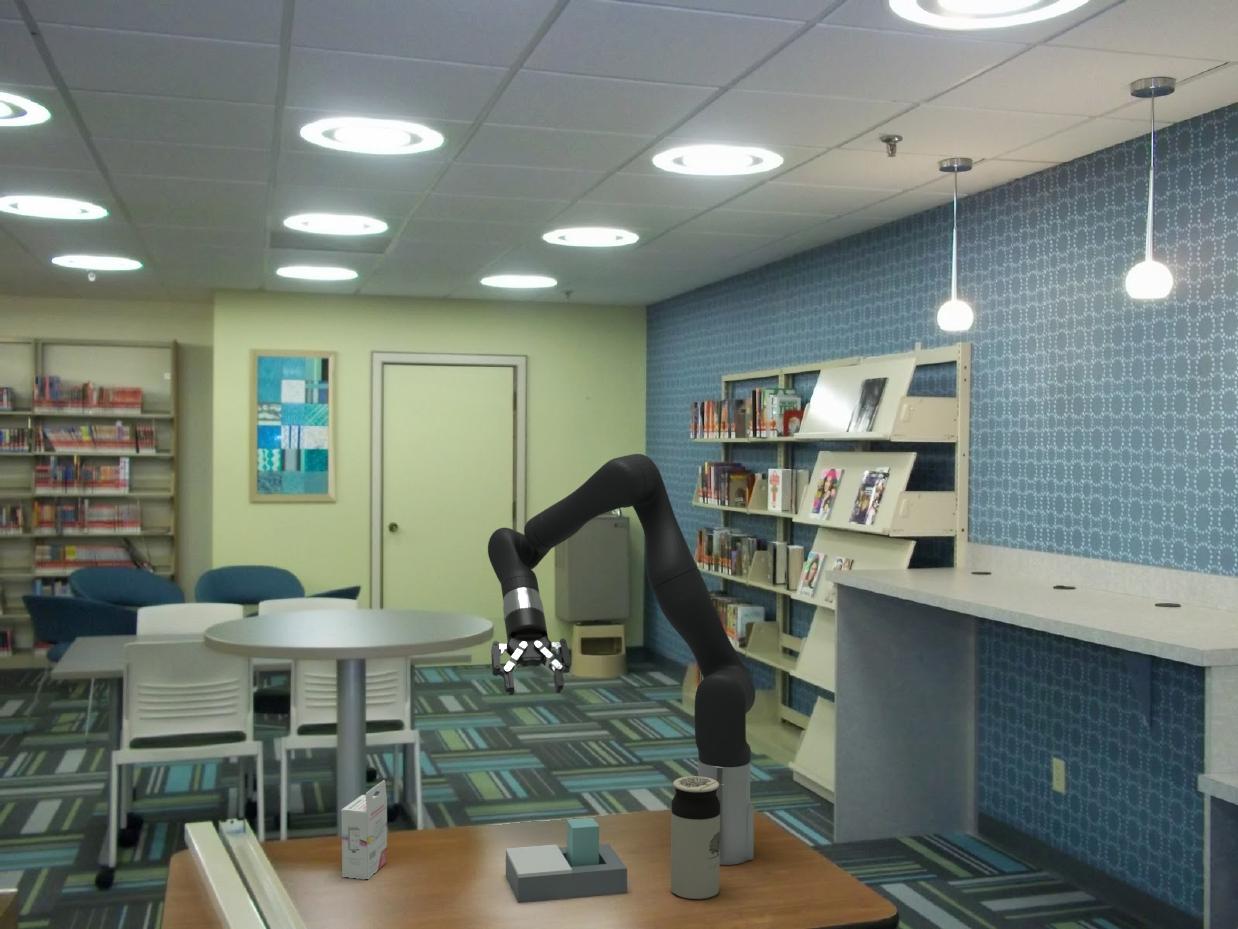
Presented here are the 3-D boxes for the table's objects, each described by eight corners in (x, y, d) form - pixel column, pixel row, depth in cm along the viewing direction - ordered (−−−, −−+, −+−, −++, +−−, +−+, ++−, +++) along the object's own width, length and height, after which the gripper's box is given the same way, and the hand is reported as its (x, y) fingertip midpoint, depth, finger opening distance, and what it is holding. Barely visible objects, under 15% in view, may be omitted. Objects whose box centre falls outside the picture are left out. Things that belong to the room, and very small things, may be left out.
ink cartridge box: (361, 860, 210) (361, 776, 210) (387, 862, 209) (388, 778, 209) (340, 878, 202) (340, 791, 201) (367, 881, 201) (368, 793, 200)
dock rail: (608, 866, 208) (608, 840, 208) (627, 892, 197) (627, 864, 197) (505, 875, 204) (505, 848, 204) (518, 902, 192) (518, 874, 192)
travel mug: (660, 891, 198) (661, 782, 197) (691, 878, 203) (692, 772, 203) (698, 905, 192) (699, 793, 192) (728, 891, 198) (730, 782, 197)
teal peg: (592, 876, 204) (592, 817, 204) (598, 886, 200) (599, 826, 199) (566, 878, 203) (566, 819, 203) (572, 888, 198) (572, 828, 198)
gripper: (489, 607, 221) (498, 682, 210) (564, 604, 225) (578, 678, 214) (484, 631, 226) (493, 705, 216) (558, 628, 230) (571, 701, 219)
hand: (535, 691), depth 215 cm, fingers open, 8 cm apart
